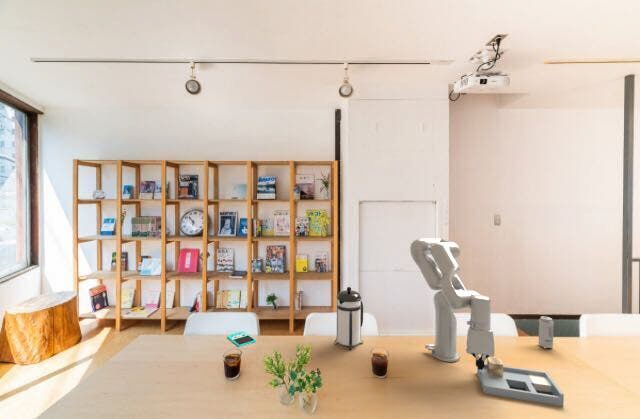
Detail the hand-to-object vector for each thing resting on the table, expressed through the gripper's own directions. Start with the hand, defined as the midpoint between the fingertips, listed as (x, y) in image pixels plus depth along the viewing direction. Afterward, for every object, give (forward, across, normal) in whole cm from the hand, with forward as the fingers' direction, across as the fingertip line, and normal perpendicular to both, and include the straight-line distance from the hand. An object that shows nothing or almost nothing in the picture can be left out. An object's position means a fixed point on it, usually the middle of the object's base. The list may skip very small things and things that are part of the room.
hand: (479, 368), depth 135 cm
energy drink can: (+4, +37, +43) cm, 57 cm away
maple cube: (+1, +6, 0) cm, 6 cm away
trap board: (+4, +13, -4) cm, 14 cm away
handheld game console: (+4, -116, +2) cm, 116 cm away
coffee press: (+4, -60, +15) cm, 62 cm away
